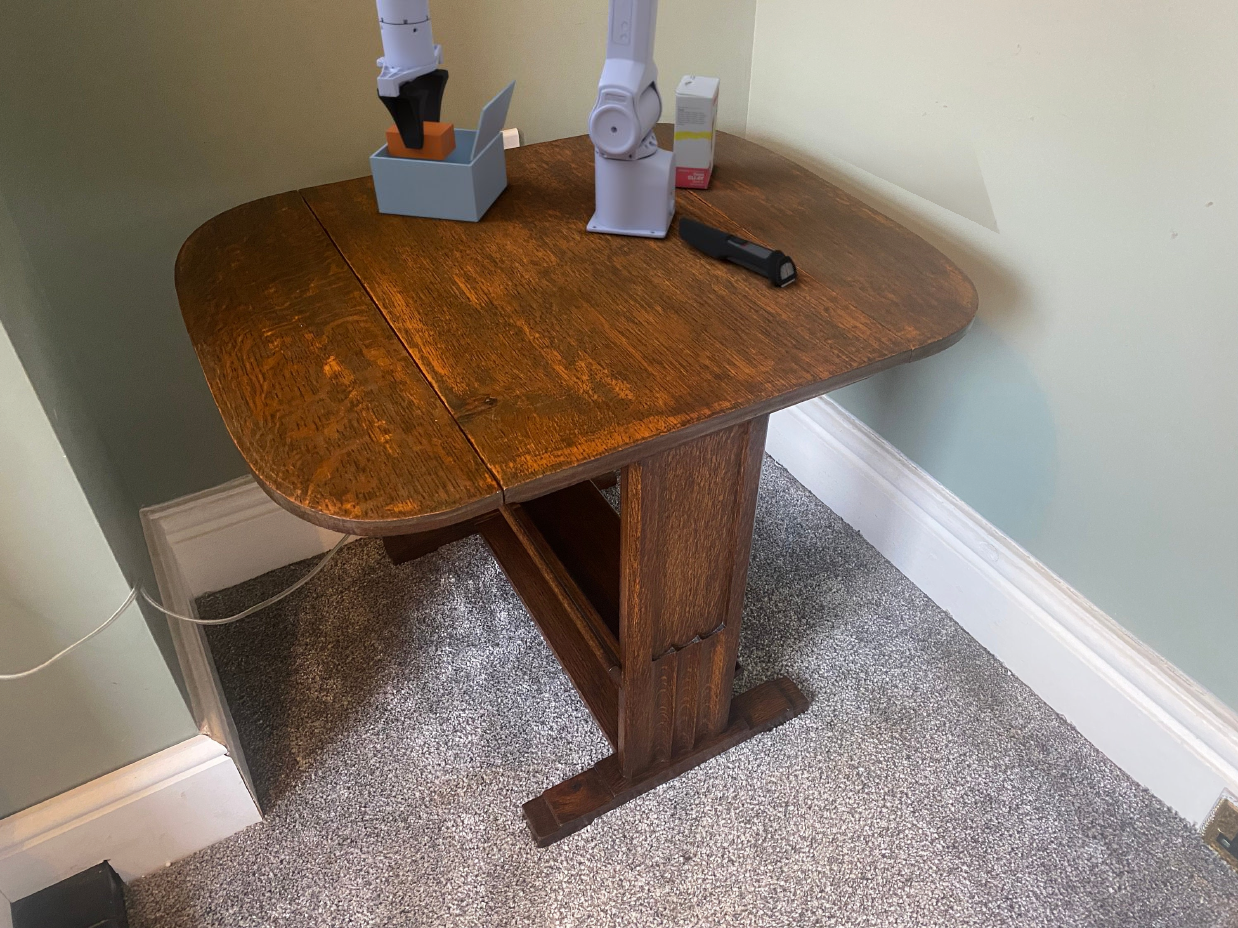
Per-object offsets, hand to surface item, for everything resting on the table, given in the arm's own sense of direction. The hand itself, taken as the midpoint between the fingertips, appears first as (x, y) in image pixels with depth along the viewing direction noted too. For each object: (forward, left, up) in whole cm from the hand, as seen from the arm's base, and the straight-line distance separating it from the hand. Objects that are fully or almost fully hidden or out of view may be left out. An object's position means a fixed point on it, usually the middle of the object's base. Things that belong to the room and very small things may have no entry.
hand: (422, 140), depth 104 cm
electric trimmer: (-40, +10, -7) cm, 42 cm away
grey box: (-2, 0, -7) cm, 7 cm away
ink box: (-32, -14, -7) cm, 36 cm away
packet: (0, 0, -1) cm, 1 cm away
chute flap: (-9, 0, +3) cm, 10 cm away
